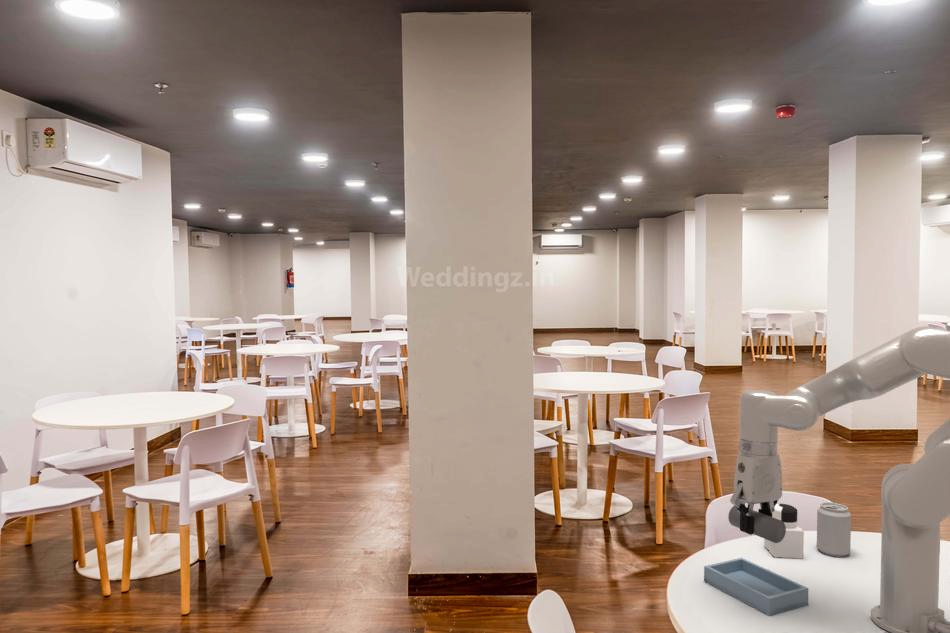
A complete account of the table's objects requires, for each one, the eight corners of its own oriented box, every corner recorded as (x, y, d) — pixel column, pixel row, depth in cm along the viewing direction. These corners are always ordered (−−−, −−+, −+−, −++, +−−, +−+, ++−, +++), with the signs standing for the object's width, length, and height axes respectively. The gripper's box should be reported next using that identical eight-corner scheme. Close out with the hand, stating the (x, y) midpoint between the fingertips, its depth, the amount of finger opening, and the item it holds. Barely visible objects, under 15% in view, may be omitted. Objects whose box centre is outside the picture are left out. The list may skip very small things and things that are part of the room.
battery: (784, 543, 136) (787, 520, 136) (768, 543, 134) (771, 520, 134) (738, 524, 147) (741, 503, 147) (723, 524, 145) (726, 503, 145)
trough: (808, 604, 136) (808, 588, 136) (768, 615, 131) (769, 598, 131) (741, 572, 152) (741, 557, 151) (704, 581, 147) (704, 566, 147)
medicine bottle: (792, 548, 167) (793, 502, 166) (803, 559, 160) (804, 511, 159) (763, 546, 167) (764, 500, 167) (773, 557, 160) (774, 509, 160)
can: (809, 549, 166) (810, 503, 166) (829, 544, 169) (830, 499, 169) (837, 560, 159) (838, 511, 159) (857, 555, 162) (858, 507, 162)
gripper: (743, 455, 133) (741, 542, 133) (800, 447, 140) (797, 531, 141) (715, 447, 140) (713, 530, 140) (771, 440, 147) (769, 520, 147)
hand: (755, 529), depth 140 cm, fingers closed on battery, 4 cm apart
